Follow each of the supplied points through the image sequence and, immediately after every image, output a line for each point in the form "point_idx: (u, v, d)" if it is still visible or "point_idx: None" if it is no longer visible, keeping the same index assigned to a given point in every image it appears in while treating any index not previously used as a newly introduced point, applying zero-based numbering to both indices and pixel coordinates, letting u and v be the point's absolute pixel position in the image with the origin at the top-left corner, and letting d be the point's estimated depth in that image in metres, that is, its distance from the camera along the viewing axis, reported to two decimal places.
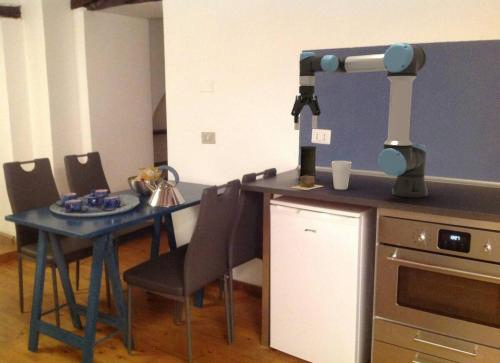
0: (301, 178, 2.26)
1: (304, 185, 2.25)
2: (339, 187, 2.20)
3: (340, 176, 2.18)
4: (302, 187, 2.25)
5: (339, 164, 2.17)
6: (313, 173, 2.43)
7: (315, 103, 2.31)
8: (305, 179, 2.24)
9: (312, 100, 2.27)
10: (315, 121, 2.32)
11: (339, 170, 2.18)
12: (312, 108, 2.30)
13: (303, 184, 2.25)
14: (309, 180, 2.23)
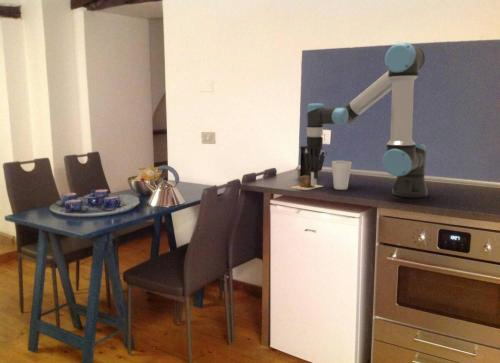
0: (300, 178, 2.26)
1: (303, 185, 2.25)
2: (339, 187, 2.20)
3: (340, 176, 2.18)
4: (302, 187, 2.25)
5: (339, 164, 2.17)
6: None
7: None
8: (304, 179, 2.24)
9: (315, 153, 2.19)
10: None
11: (339, 170, 2.18)
12: None
13: (303, 184, 2.26)
14: (308, 180, 2.24)
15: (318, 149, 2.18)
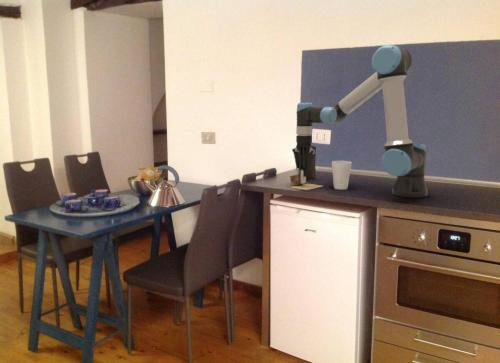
0: (291, 177, 2.30)
1: (295, 183, 2.29)
2: (339, 187, 2.20)
3: (340, 176, 2.18)
4: (302, 187, 2.25)
5: (339, 164, 2.17)
6: (313, 173, 2.43)
7: None
8: (295, 177, 2.29)
9: (304, 151, 2.23)
10: None
11: (339, 170, 2.18)
12: None
13: (294, 182, 2.29)
14: (298, 177, 2.28)
15: (307, 147, 2.22)
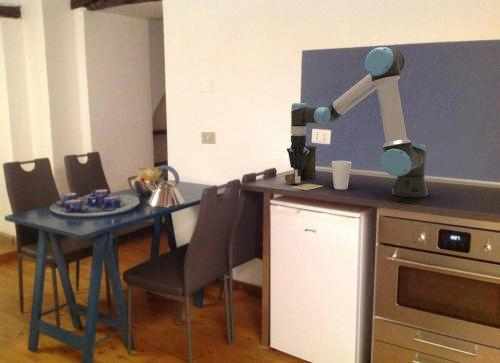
0: (285, 176, 2.33)
1: (289, 182, 2.32)
2: (339, 187, 2.20)
3: (340, 176, 2.18)
4: (302, 187, 2.25)
5: (339, 164, 2.17)
6: (313, 173, 2.43)
7: None
8: (289, 176, 2.31)
9: (298, 151, 2.26)
10: None
11: (339, 170, 2.18)
12: None
13: (288, 181, 2.32)
14: (292, 176, 2.30)
15: (301, 147, 2.25)
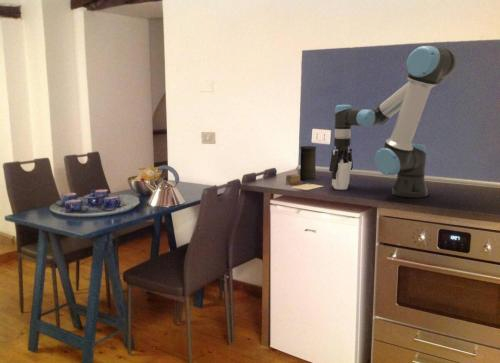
0: (287, 177, 2.33)
1: (289, 183, 2.32)
2: (339, 187, 2.20)
3: (340, 176, 2.18)
4: (302, 187, 2.25)
5: (339, 164, 2.17)
6: (313, 173, 2.43)
7: (349, 156, 2.24)
8: (290, 178, 2.31)
9: (347, 153, 2.21)
10: None
11: (339, 170, 2.18)
12: (345, 161, 2.23)
13: (288, 182, 2.32)
14: (293, 179, 2.30)
15: (347, 149, 2.21)
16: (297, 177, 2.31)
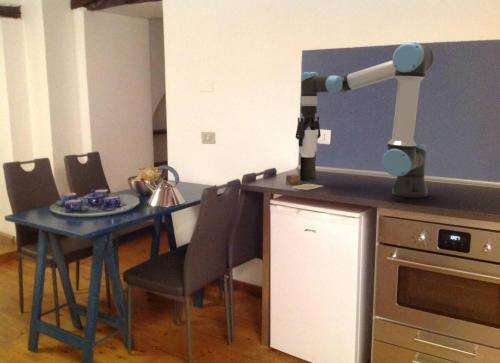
0: (287, 177, 2.33)
1: (289, 183, 2.32)
2: (306, 154, 2.21)
3: (306, 143, 2.20)
4: (302, 187, 2.25)
5: (305, 131, 2.18)
6: (313, 173, 2.43)
7: (316, 124, 2.26)
8: (290, 178, 2.31)
9: (314, 121, 2.22)
10: None
11: (305, 137, 2.19)
12: (313, 129, 2.25)
13: (288, 182, 2.32)
14: (293, 179, 2.30)
15: (314, 117, 2.23)
16: (297, 177, 2.31)
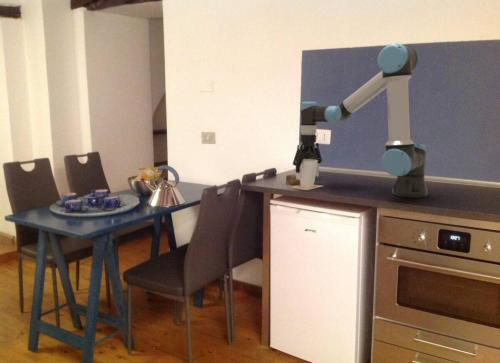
0: (287, 177, 2.33)
1: (289, 183, 2.32)
2: (305, 185, 2.24)
3: (306, 174, 2.22)
4: (302, 187, 2.25)
5: (305, 162, 2.21)
6: None
7: (316, 151, 2.28)
8: (290, 178, 2.31)
9: (314, 148, 2.25)
10: (316, 169, 2.30)
11: (305, 168, 2.22)
12: (313, 156, 2.27)
13: (288, 182, 2.32)
14: (293, 179, 2.30)
15: (314, 145, 2.25)
16: None
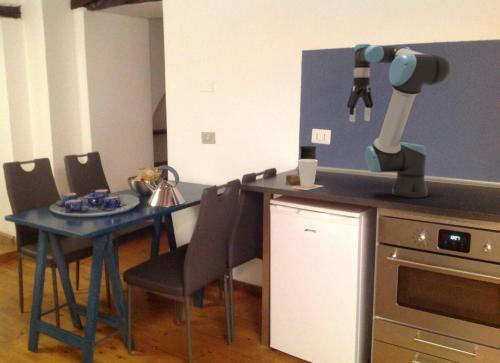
0: (287, 177, 2.33)
1: (289, 183, 2.32)
2: (305, 185, 2.24)
3: (306, 174, 2.22)
4: (302, 187, 2.25)
5: (305, 162, 2.21)
6: None
7: (368, 95, 2.30)
8: (290, 178, 2.31)
9: (366, 92, 2.26)
10: (368, 113, 2.32)
11: (305, 168, 2.22)
12: (365, 100, 2.29)
13: (288, 182, 2.32)
14: (293, 179, 2.30)
15: (366, 89, 2.27)
16: (297, 177, 2.31)
